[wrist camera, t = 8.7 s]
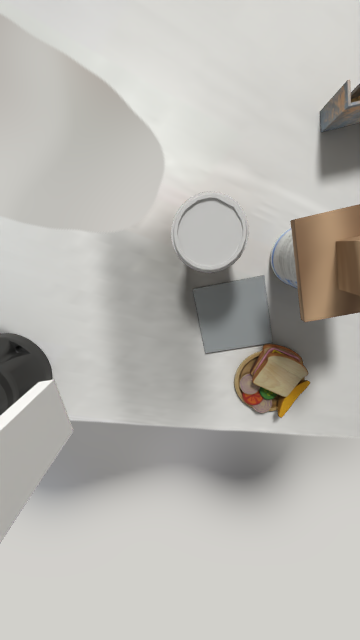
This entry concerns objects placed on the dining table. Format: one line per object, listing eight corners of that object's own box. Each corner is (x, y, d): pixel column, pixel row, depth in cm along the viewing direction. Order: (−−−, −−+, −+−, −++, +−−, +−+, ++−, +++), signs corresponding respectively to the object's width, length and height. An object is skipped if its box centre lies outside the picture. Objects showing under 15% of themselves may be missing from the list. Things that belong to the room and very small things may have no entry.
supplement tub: (269, 287, 44) (301, 307, 30) (268, 228, 41) (303, 219, 27) (329, 282, 43) (392, 300, 29) (333, 221, 40) (403, 208, 26)
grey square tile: (205, 352, 48) (205, 353, 48) (192, 289, 45) (192, 289, 45) (271, 341, 46) (272, 342, 46) (263, 275, 43) (264, 275, 43)
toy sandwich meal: (220, 386, 50) (222, 400, 45) (263, 330, 46) (270, 339, 42) (273, 418, 51) (280, 435, 46) (320, 366, 47) (332, 379, 43)
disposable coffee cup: (248, 244, 42) (265, 244, 31) (199, 277, 44) (198, 288, 33) (216, 191, 40) (222, 170, 29) (167, 228, 43) (154, 222, 31)
